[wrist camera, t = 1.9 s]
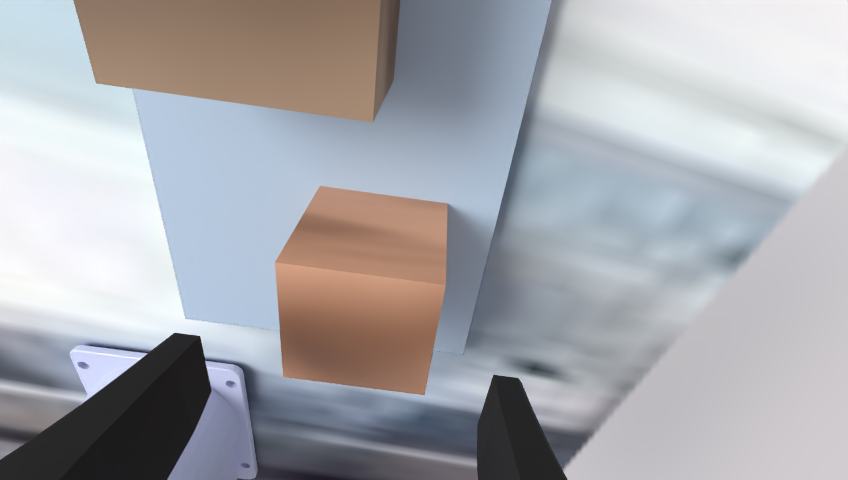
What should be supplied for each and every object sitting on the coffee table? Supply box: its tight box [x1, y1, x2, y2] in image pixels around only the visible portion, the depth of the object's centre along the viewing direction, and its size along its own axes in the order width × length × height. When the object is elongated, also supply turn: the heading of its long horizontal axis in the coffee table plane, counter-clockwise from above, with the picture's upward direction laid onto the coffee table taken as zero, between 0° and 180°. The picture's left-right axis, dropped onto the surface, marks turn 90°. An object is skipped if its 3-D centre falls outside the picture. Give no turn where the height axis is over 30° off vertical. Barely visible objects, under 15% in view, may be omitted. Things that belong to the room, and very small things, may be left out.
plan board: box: [132, 0, 552, 355], centre depth 14 cm, size 18×12×1 cm, turn 173°
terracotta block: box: [275, 186, 448, 395], centre depth 14 cm, size 4×4×4 cm
